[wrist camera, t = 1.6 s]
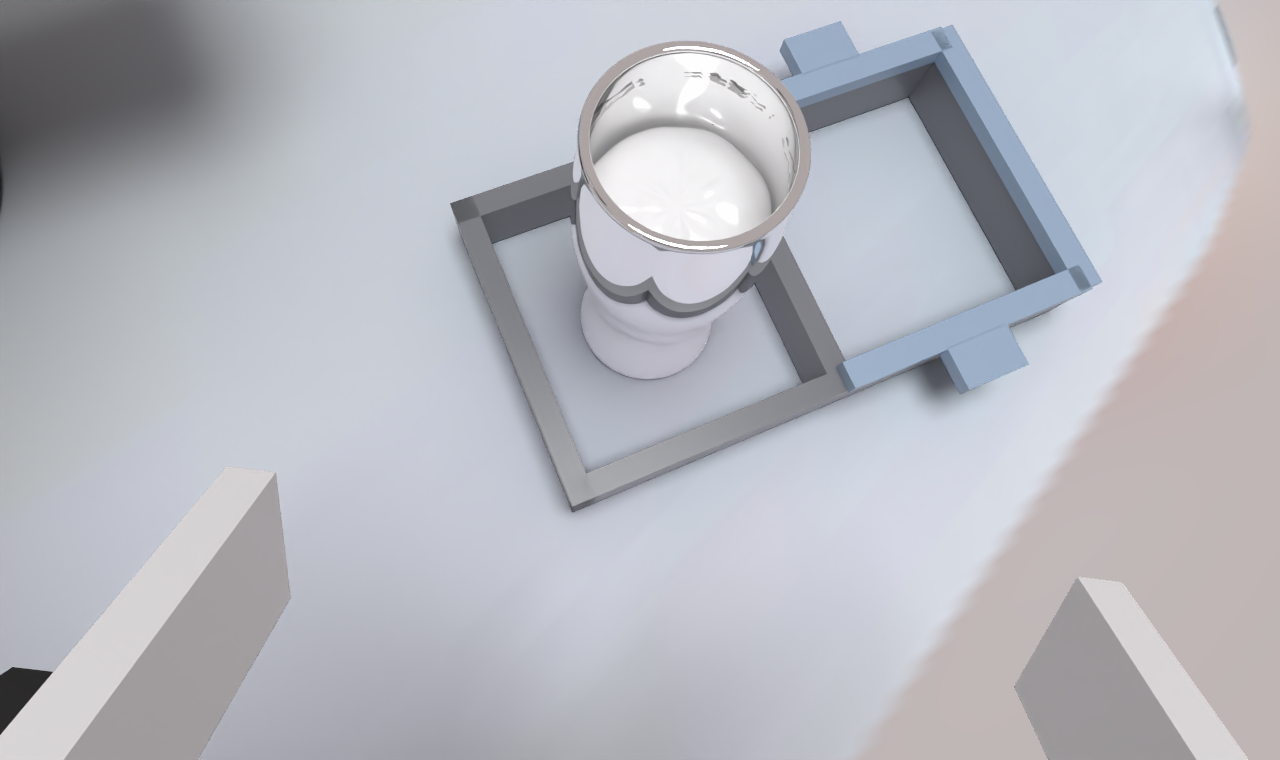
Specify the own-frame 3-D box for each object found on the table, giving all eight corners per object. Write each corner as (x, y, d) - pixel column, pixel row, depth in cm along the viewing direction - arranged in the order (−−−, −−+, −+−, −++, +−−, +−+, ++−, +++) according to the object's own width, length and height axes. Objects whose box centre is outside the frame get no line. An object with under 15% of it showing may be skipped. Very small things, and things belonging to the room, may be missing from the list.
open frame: (445, 197, 36) (430, 154, 33) (900, 43, 41) (933, -9, 37) (590, 555, 33) (592, 553, 29) (1071, 346, 37) (1125, 321, 33)
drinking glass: (748, 340, 36) (868, 182, 21) (623, 418, 34) (660, 304, 20) (667, 222, 37) (727, -5, 22) (542, 293, 36) (521, 99, 21)
